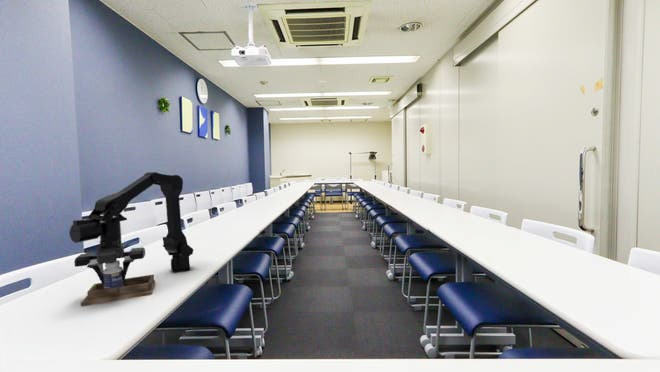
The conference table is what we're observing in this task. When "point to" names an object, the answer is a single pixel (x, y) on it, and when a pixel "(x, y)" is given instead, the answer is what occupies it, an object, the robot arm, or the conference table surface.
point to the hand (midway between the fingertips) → (113, 281)
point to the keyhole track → (120, 290)
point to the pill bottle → (113, 275)
